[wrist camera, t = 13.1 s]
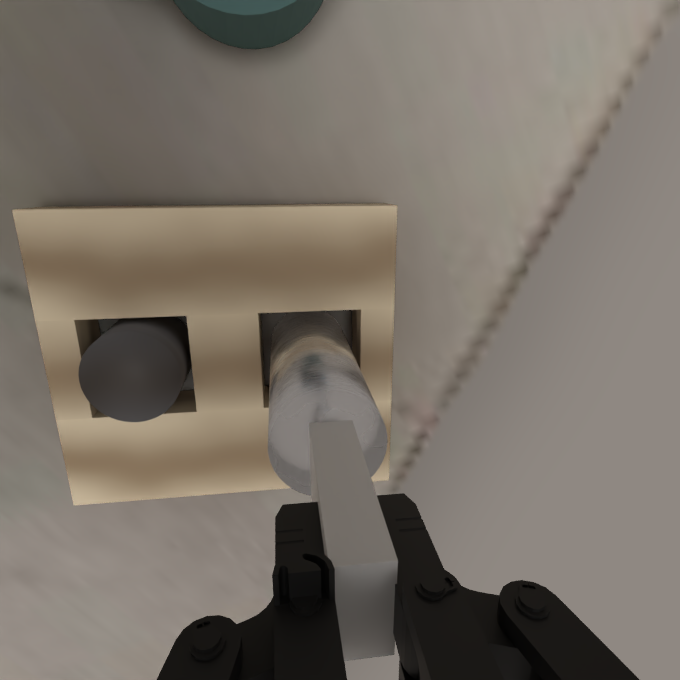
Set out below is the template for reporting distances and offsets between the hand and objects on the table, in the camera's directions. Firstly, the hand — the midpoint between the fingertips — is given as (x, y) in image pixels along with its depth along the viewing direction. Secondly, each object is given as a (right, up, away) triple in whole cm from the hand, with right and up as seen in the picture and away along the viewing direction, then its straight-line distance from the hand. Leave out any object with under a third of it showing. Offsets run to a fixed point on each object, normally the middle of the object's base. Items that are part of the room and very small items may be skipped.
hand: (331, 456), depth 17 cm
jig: (-6, +4, +12) cm, 14 cm away
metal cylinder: (-2, +4, +12) cm, 13 cm away
